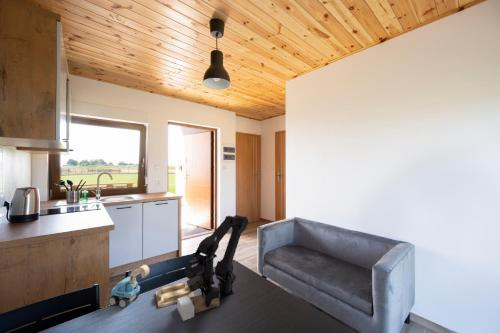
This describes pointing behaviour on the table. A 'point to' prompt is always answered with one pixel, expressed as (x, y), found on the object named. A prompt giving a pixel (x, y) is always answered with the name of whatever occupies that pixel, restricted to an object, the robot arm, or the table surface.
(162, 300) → the jig
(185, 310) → the light grey rectangular block
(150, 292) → the table surface
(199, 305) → the tan rectangular bar
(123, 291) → the toy excavator
